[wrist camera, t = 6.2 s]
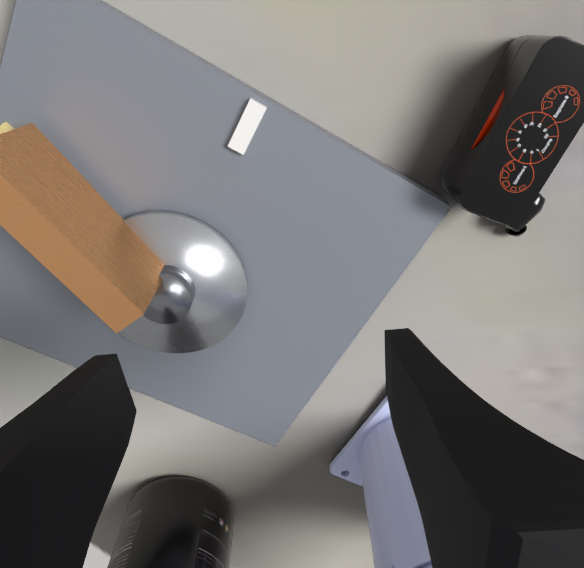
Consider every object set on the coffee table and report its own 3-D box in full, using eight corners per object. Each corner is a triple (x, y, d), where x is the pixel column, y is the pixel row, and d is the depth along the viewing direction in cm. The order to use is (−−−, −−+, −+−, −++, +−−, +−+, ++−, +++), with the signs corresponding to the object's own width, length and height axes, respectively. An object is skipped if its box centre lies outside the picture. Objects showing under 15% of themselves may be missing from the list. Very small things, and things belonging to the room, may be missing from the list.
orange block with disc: (278, 299, 22) (275, 355, 18) (167, 370, 24) (142, 433, 20) (87, 74, 18) (30, 86, 14) (-31, 183, 20) (-109, 220, 16)
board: (443, 198, 21) (453, 209, 20) (275, 430, 28) (274, 450, 27) (41, -35, 17) (20, -40, 16) (-43, 300, 24) (-63, 316, 23)
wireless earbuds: (423, 198, 22) (442, 224, 19) (511, 29, 18) (550, 29, 16) (512, 232, 22) (544, 262, 19) (611, 76, 19) (667, 84, 16)
